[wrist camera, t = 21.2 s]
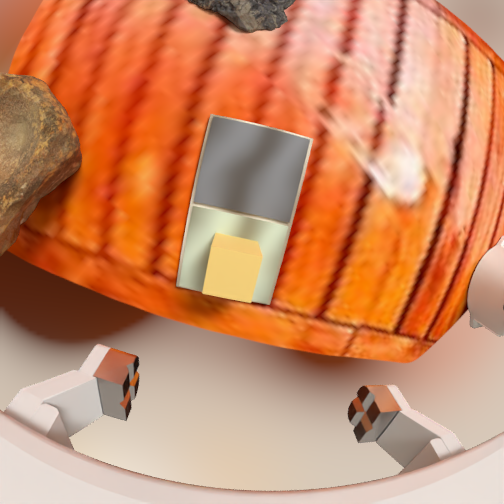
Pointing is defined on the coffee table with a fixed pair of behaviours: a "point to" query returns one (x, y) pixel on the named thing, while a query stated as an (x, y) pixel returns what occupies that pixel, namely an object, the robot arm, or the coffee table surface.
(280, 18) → the dark grey rock
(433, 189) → the coffee table surface
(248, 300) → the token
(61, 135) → the rough brown rock
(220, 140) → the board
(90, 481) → the robot arm
